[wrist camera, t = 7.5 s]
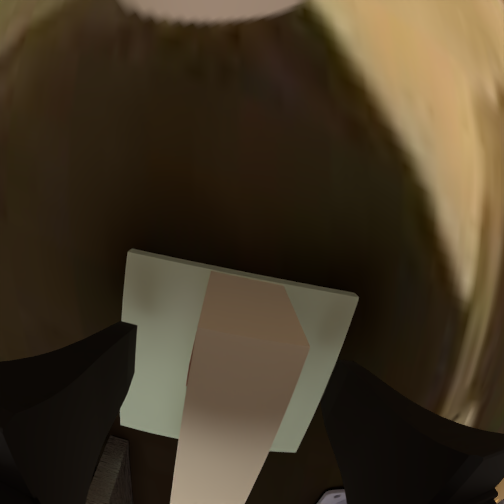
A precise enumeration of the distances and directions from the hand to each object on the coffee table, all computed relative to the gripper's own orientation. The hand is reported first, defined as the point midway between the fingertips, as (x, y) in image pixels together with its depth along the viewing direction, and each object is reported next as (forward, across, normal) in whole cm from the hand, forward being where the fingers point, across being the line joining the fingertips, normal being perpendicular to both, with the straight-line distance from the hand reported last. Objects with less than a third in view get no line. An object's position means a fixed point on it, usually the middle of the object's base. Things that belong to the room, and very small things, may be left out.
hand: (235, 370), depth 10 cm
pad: (+4, 0, +2) cm, 4 cm away
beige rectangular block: (+3, 0, +3) cm, 4 cm away
